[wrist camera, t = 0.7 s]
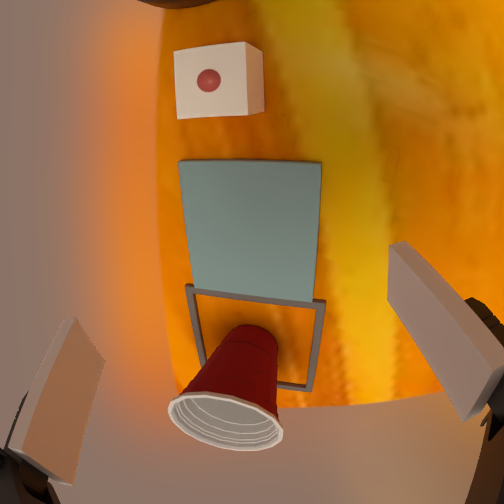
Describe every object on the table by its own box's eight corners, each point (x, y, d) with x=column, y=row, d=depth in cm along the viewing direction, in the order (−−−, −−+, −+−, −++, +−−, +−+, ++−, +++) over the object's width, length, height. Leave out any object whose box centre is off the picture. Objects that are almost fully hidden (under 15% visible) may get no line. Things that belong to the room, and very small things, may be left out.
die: (202, 57, 21) (172, 51, 17) (262, 51, 20) (244, 41, 16) (205, 113, 24) (176, 119, 19) (264, 111, 22) (247, 115, 18)
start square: (186, 283, 33) (184, 286, 32) (326, 300, 29) (325, 303, 29) (204, 371, 40) (202, 373, 39) (311, 389, 36) (311, 392, 36)
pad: (182, 159, 26) (178, 161, 25) (321, 162, 23) (321, 164, 23) (197, 283, 32) (194, 287, 32) (312, 297, 30) (312, 302, 29)
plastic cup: (288, 382, 37) (267, 464, 26) (207, 357, 38) (169, 432, 28) (314, 323, 31) (297, 422, 21) (214, 293, 32) (164, 379, 22)
